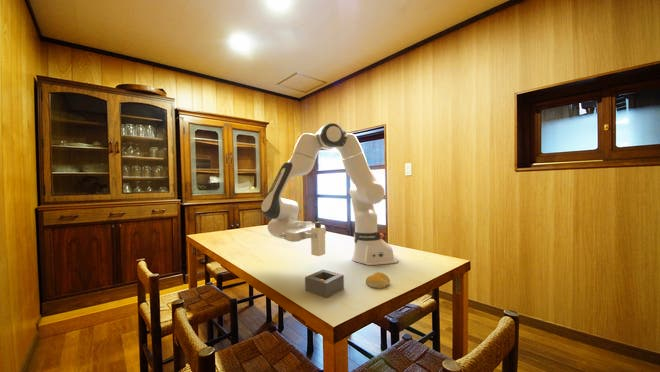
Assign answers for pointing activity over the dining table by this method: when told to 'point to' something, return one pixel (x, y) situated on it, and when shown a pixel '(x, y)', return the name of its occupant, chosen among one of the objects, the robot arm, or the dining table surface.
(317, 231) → the plug
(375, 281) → the bread roll
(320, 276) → the socket block
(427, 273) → the dining table surface
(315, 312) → the dining table surface
